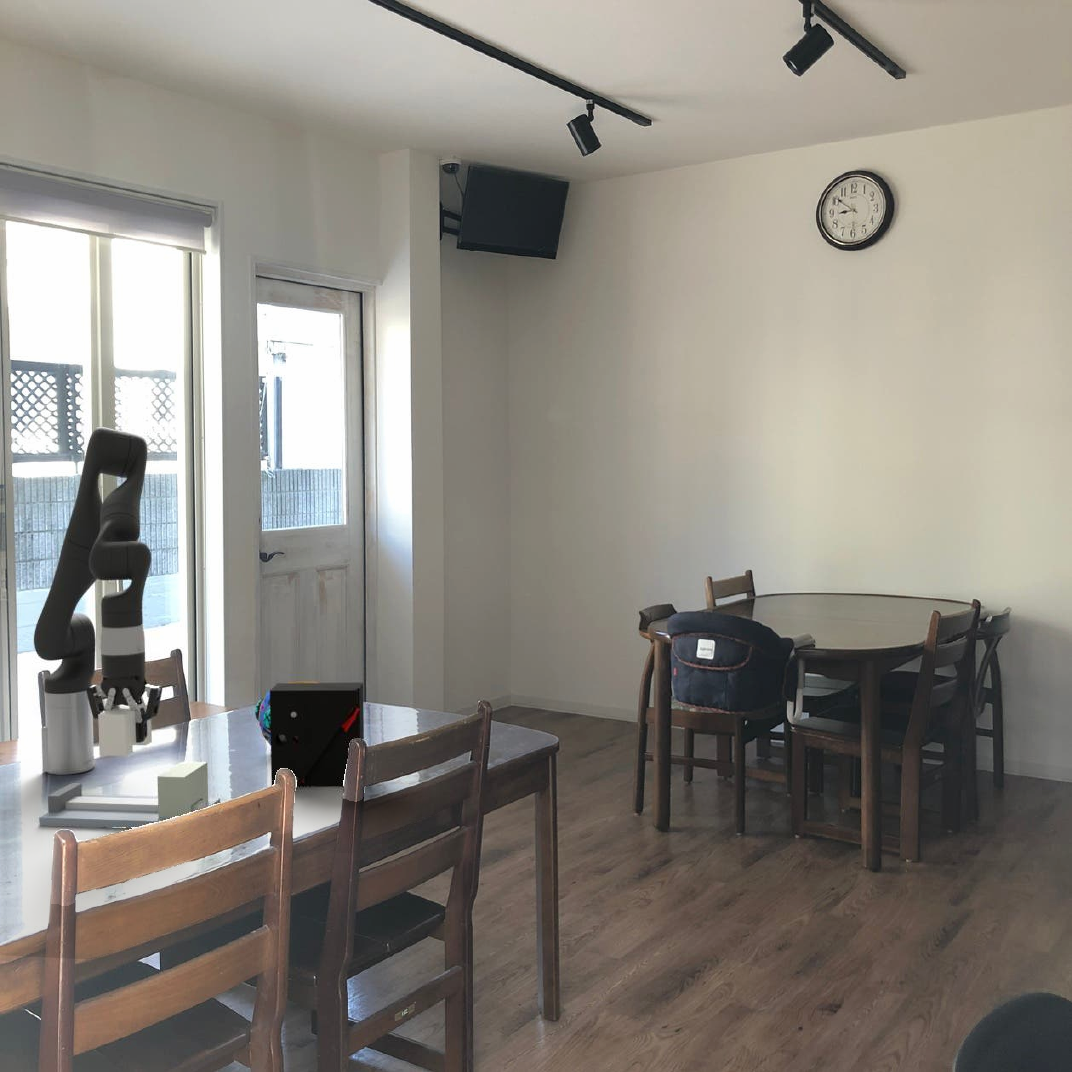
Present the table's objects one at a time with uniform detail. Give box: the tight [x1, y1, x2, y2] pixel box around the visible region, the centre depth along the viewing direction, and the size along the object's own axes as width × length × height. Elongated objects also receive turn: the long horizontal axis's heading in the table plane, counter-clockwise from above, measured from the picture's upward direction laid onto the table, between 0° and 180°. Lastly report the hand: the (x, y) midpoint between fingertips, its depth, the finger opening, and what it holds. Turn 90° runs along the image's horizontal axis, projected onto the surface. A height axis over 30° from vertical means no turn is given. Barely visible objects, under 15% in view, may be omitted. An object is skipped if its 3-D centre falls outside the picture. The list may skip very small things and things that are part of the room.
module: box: [97, 702, 153, 757], centre depth 197 cm, size 5×10×8 cm, turn 174°
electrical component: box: [269, 681, 365, 789], centre depth 218 cm, size 18×10×20 cm, turn 92°
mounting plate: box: [38, 760, 221, 829], centre depth 197 cm, size 28×14×9 cm, turn 84°
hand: (125, 741), depth 197 cm, fingers closed on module, 5 cm apart
